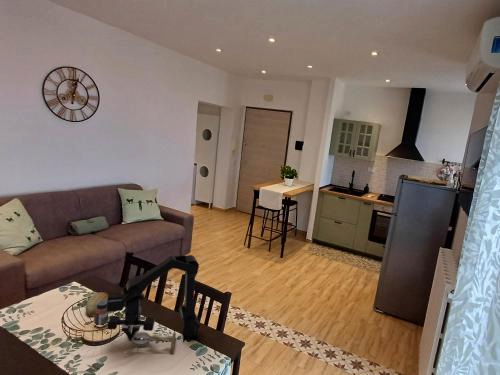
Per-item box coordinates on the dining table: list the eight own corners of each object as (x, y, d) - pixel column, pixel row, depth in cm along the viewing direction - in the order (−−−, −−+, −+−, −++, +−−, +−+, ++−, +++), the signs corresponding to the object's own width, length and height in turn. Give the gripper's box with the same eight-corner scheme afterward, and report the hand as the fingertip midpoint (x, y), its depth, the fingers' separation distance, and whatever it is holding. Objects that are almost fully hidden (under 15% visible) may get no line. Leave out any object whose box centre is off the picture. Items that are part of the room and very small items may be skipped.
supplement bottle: (92, 322, 153) (93, 300, 151) (106, 319, 157) (107, 297, 154) (95, 329, 149) (96, 307, 146) (109, 326, 152) (110, 304, 150)
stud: (150, 339, 147) (151, 332, 146) (148, 350, 140) (148, 343, 139) (134, 339, 146) (135, 331, 145) (131, 350, 139) (131, 342, 138)
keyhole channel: (175, 335, 152) (176, 329, 151) (172, 357, 138) (172, 351, 137) (131, 334, 149) (131, 328, 148) (123, 356, 135) (123, 350, 134)
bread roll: (114, 302, 171) (114, 288, 169) (100, 319, 156) (101, 304, 155) (96, 300, 171) (96, 286, 169) (81, 316, 156) (81, 301, 155)
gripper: (158, 299, 147) (155, 329, 151) (115, 296, 145) (113, 327, 148) (153, 313, 137) (151, 345, 140) (107, 311, 134) (106, 344, 137)
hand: (130, 340), depth 141 cm, fingers closed
